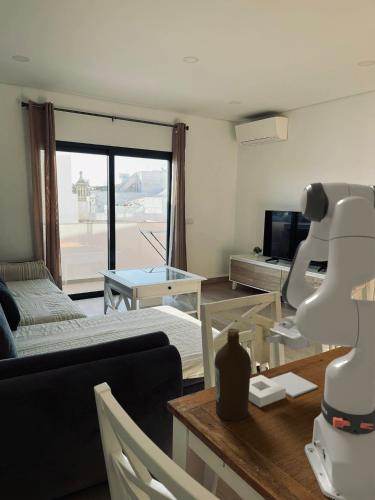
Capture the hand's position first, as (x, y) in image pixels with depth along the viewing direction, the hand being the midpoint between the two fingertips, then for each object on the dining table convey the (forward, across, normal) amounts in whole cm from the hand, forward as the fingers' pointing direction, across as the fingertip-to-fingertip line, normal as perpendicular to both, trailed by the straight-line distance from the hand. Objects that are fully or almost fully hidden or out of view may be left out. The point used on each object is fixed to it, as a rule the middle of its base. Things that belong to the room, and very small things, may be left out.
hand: (260, 337), depth 113 cm
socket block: (-1, 0, +19) cm, 19 cm away
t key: (-1, 0, +8) cm, 8 cm away
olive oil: (+13, +2, +20) cm, 24 cm away
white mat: (-14, 0, +19) cm, 24 cm away
